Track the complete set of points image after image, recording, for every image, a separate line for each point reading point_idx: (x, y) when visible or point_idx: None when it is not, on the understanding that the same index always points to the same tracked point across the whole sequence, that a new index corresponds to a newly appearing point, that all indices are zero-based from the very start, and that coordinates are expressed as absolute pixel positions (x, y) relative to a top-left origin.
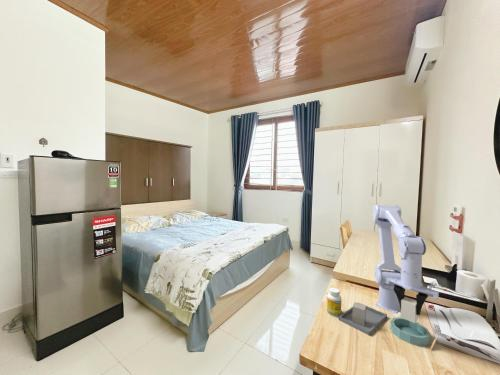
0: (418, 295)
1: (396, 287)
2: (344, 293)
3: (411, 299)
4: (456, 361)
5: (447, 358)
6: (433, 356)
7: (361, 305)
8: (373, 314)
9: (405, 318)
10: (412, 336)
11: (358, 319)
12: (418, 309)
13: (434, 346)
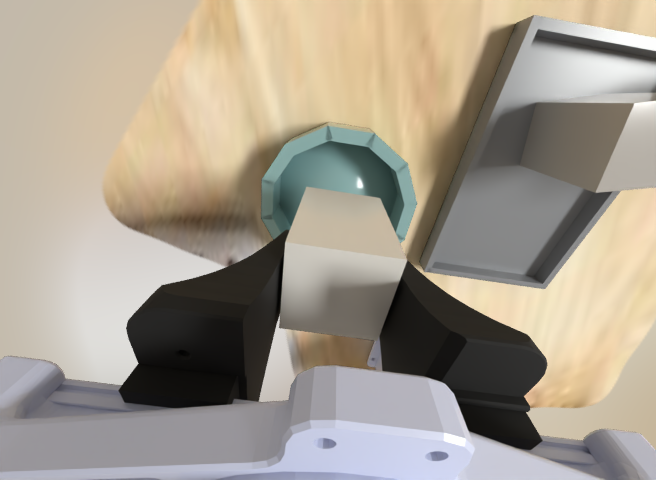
0: (219, 338)
1: (500, 399)
2: (580, 334)
3: (328, 326)
4: (181, 139)
5: (206, 135)
6: (244, 104)
7: (637, 168)
8: (474, 249)
9: (356, 195)
10: (318, 129)
11: (597, 97)
12: (275, 245)
13: (254, 186)
